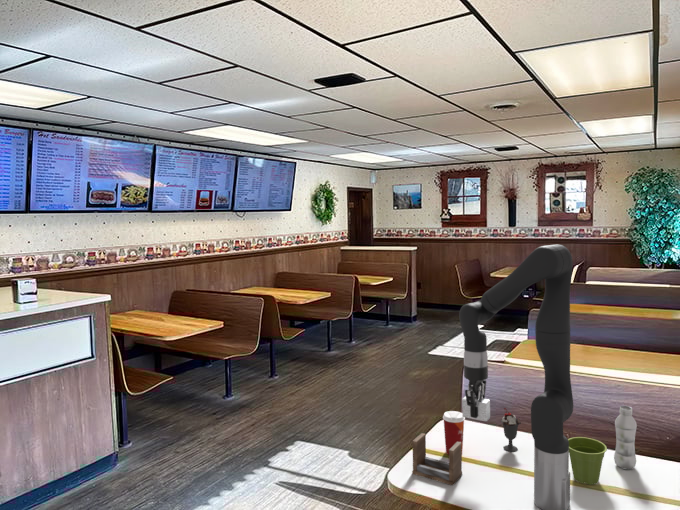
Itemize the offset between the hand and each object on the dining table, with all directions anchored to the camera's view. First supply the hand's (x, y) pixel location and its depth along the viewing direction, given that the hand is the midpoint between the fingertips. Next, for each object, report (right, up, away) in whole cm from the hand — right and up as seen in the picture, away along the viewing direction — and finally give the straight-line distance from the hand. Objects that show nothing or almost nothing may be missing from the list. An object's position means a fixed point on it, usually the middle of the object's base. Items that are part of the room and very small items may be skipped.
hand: (476, 414), depth 170 cm
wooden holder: (-13, -19, 0) cm, 23 cm away
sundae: (+16, -17, +16) cm, 29 cm away
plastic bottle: (+49, -18, +1) cm, 52 cm away
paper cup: (-4, -18, +14) cm, 23 cm away
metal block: (0, -1, 0) cm, 1 cm away
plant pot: (+33, -19, -6) cm, 38 cm away
